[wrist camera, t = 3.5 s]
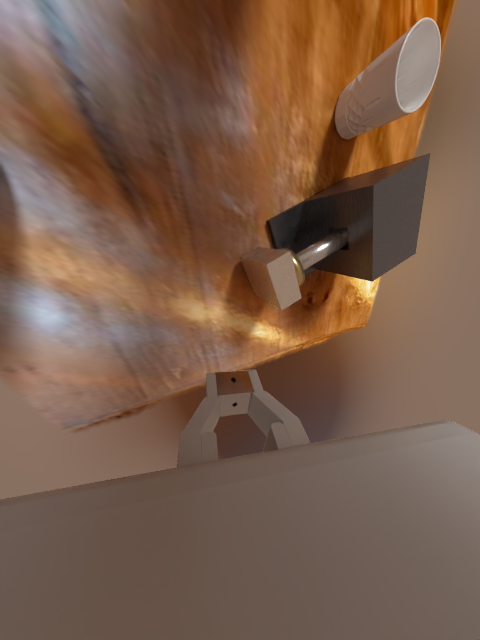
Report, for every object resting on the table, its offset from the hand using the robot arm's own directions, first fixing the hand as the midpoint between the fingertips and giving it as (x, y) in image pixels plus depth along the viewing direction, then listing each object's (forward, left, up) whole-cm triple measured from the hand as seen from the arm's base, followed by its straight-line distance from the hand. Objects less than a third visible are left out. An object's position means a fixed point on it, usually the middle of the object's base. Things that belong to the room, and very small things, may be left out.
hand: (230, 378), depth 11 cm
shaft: (-14, +17, -24) cm, 33 cm away
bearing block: (-19, +22, -26) cm, 38 cm away
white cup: (-38, +17, -26) cm, 49 cm away
